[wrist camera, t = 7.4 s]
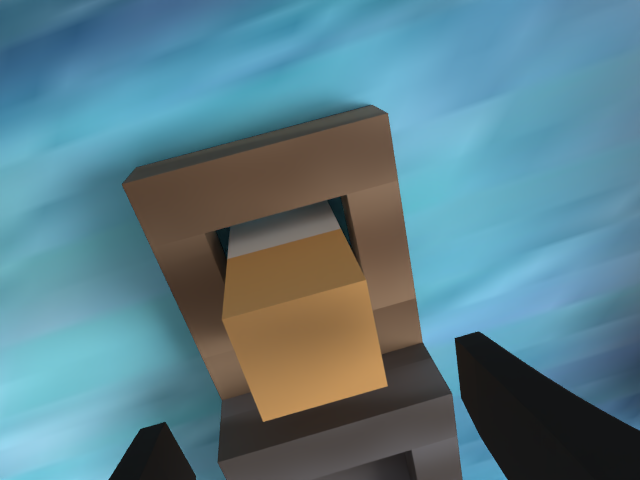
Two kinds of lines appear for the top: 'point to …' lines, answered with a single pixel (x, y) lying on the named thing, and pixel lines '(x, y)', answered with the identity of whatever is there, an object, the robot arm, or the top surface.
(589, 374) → the top surface
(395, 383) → the wooden base
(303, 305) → the plug
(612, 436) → the robot arm
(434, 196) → the top surface
